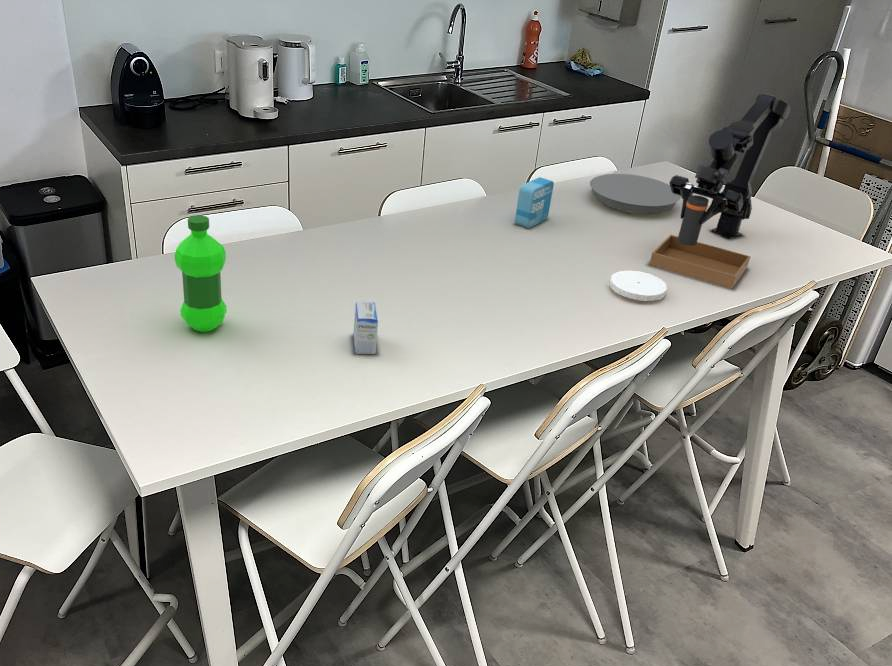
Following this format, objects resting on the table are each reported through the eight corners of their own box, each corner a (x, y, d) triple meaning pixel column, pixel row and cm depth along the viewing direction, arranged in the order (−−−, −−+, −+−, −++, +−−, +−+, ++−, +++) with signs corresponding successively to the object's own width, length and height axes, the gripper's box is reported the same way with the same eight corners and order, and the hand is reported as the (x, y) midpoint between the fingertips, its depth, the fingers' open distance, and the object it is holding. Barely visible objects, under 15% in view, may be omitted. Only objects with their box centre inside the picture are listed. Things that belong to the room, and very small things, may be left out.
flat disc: (575, 186, 279) (578, 172, 277) (657, 187, 282) (660, 174, 280) (603, 219, 256) (606, 205, 253) (691, 220, 259) (695, 206, 257)
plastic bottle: (231, 335, 185) (227, 227, 171) (182, 339, 182) (174, 230, 168) (225, 313, 193) (221, 208, 179) (177, 317, 190) (169, 211, 176)
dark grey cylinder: (688, 236, 229) (699, 194, 223) (701, 244, 225) (713, 201, 219) (672, 239, 227) (684, 196, 221) (685, 246, 223) (697, 203, 217)
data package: (526, 229, 245) (533, 189, 239) (513, 225, 247) (519, 185, 241) (547, 218, 253) (554, 179, 247) (534, 214, 255) (541, 175, 249)
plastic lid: (674, 304, 211) (677, 294, 210) (621, 305, 208) (623, 296, 207) (650, 278, 222) (652, 270, 221) (600, 279, 220) (602, 270, 219)
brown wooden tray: (667, 247, 241) (670, 234, 239) (746, 269, 231) (750, 256, 229) (649, 265, 229) (652, 252, 227) (731, 289, 220) (735, 276, 218)
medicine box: (353, 335, 188) (354, 300, 183) (373, 336, 188) (375, 301, 184) (355, 354, 181) (357, 318, 177) (376, 354, 182) (378, 319, 177)
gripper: (681, 144, 221) (653, 195, 220) (752, 163, 212) (723, 216, 210) (686, 167, 231) (659, 216, 229) (754, 186, 221) (726, 237, 220)
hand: (690, 220), depth 222 cm, fingers closed on dark grey cylinder, 5 cm apart
